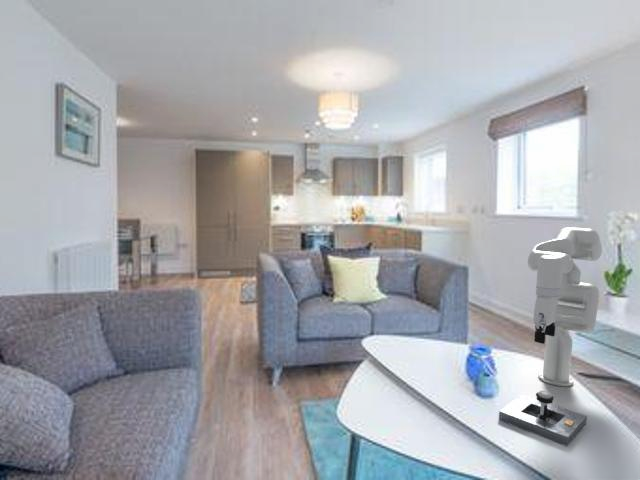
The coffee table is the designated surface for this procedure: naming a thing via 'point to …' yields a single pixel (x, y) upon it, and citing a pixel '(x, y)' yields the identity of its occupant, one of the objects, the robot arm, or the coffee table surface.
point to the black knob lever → (544, 404)
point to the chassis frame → (559, 433)
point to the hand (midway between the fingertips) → (544, 338)
